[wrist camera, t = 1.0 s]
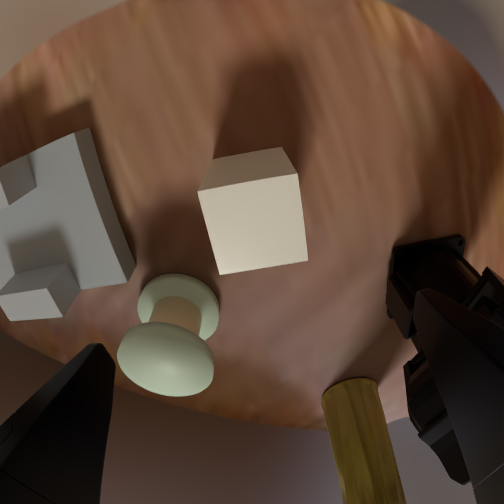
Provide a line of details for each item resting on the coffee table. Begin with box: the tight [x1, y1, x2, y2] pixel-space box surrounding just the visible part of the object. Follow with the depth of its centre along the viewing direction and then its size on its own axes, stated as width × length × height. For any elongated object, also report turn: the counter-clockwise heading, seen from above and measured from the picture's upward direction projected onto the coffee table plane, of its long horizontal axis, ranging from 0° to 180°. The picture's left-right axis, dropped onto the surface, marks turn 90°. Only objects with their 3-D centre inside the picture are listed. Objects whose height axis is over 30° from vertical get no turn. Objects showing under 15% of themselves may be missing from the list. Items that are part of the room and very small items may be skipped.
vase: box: [321, 378, 407, 504], centre depth 23 cm, size 6×6×14 cm
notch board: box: [0, 127, 136, 321], centre depth 17 cm, size 14×10×5 cm
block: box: [197, 147, 308, 275], centre depth 16 cm, size 4×4×6 cm
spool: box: [117, 273, 219, 396], centre depth 20 cm, size 6×6×6 cm
